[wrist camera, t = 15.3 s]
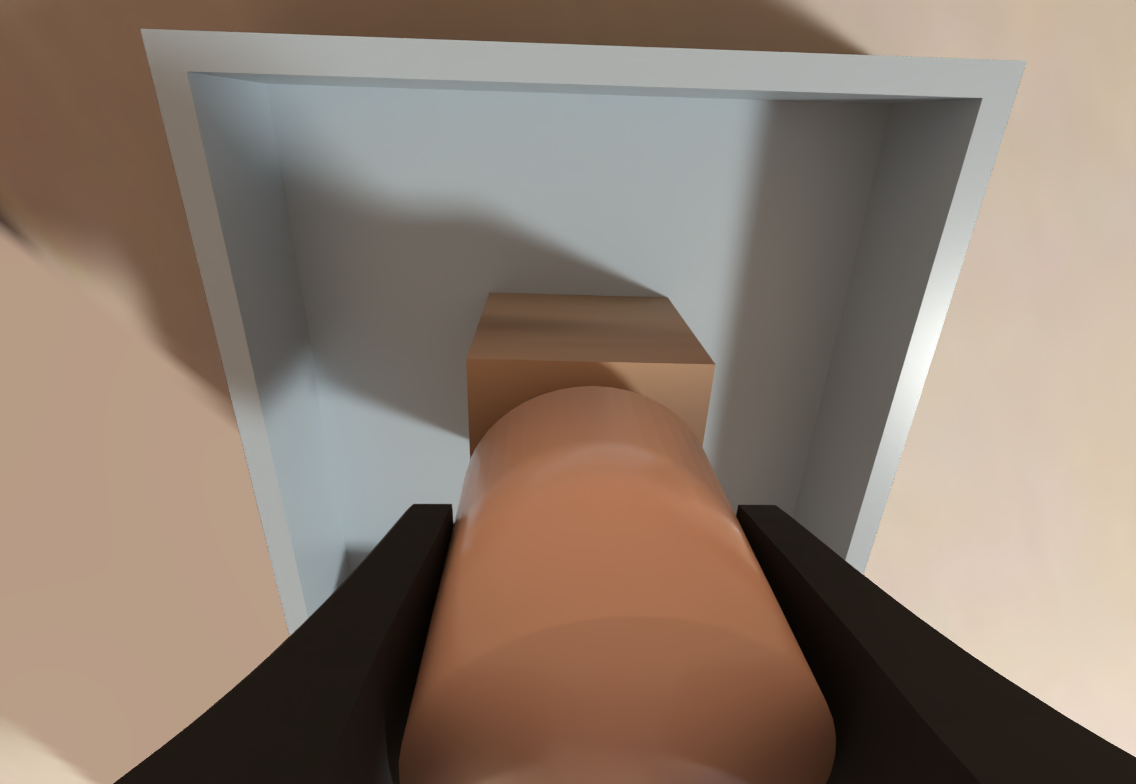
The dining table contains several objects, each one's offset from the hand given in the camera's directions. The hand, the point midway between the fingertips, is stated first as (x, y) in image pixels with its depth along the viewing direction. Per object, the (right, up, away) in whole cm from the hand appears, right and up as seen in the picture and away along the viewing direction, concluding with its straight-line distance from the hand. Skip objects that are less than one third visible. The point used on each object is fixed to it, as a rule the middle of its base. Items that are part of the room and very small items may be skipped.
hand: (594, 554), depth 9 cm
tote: (0, +3, +7) cm, 8 cm away
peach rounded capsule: (0, +1, +1) cm, 1 cm away
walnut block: (0, +3, +6) cm, 7 cm away
